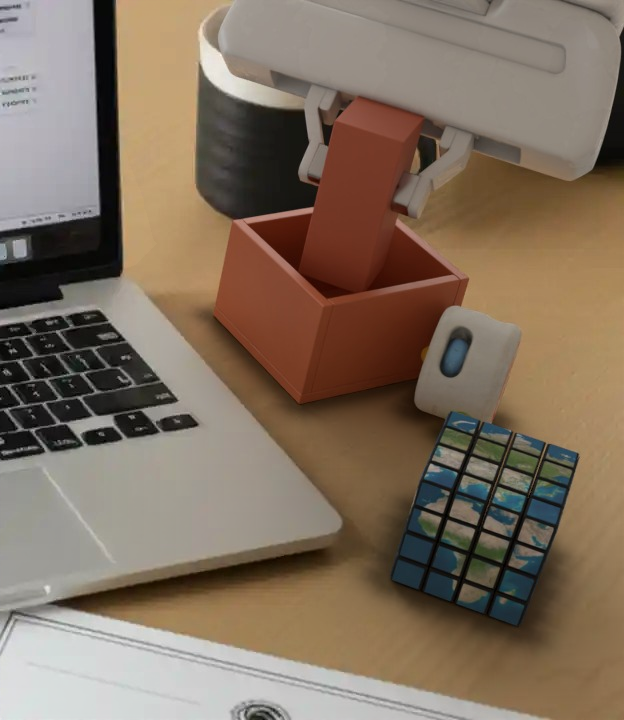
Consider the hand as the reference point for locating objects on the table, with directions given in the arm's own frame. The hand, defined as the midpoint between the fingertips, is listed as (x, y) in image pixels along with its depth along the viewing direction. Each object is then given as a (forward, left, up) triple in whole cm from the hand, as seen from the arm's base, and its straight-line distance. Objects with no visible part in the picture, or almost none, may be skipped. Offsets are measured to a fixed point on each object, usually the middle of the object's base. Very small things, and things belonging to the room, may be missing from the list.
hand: (357, 197), depth 85 cm
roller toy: (-4, +7, -10) cm, 13 cm away
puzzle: (+3, +17, -10) cm, 20 cm away
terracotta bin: (-1, 0, -9) cm, 10 cm away
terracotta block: (-1, 0, -5) cm, 5 cm away
